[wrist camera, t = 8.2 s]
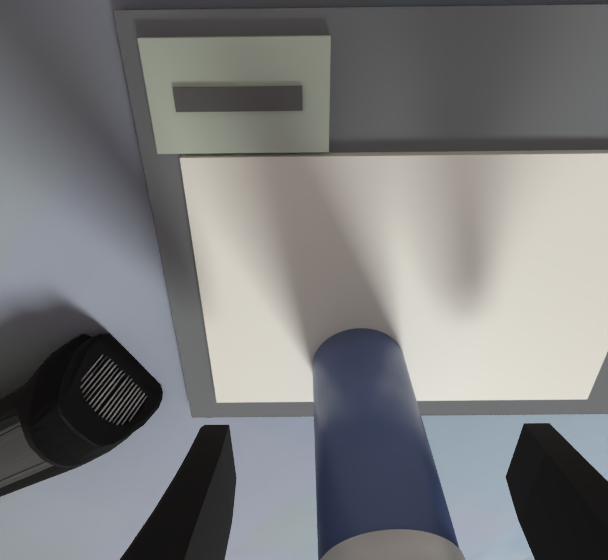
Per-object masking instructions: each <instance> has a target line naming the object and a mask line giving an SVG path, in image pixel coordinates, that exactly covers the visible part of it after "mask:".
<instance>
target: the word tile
mask: <svg viewBox="0 0 608 560" xmlns="http://www.w3.org/2000/svg"><path fill="white" fill-rule="evenodd" d="M137 40H138V45H139V51H140V57H141V63H142V68H143V74H144V80H145V85H146V91H147V97H148V102H149V108H150V114H151V120H152V125H153V131H154V137H155V142H156V148H157V154H208V153H300V152H329V110H330V53H331V36H330V35H296V36H212V37H141V38H137Z"/></svg>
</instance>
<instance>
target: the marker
mask: <svg viewBox="0 0 608 560" xmlns="http://www.w3.org/2000/svg"><path fill="white" fill-rule="evenodd" d="M312 367H313V399H314V432H315V464H316V497H317V529H318V560H465V557H464V555H463V553H462V551H461V550H460V549H459V546H458V542H457V539H456V536H455V532H454V529H453V525H452V522H451V518H450V515H449V511H448V508H447V504H446V501H445V497H444V494H443V490H442V487H441V484H440V480H439V477H438V473H437V470H436V466H435V463H434V459H433V456H432V452H431V449H430V445H429V442H428V439H427V435H426V432H425V428H424V425H423V421H422V418H421V414H420V411H419V407H418V404H417V400H416V397H415V394H414V390H413V387H412V383H411V380H410V376H409V373H408V369H407V366H406V362H405V359H404V355H403V352H402V350H401V348H400V346H399V345H398V343H397V342H396V341H395V340H394V339H393V338H391V337H390V336H388V335H387V334H385V333H383V332H380V331H377V330H374V329H368V328H355V329H349V330H345V331H342V332H339V333H336V334H335V335H333V336H331V337H329V338H328V339H327V340H325V341H324V342H323V343H322V344H321V345H320V346H319V348H318V349H317V351H316V353H315V355H314V358H313V364H312Z"/></svg>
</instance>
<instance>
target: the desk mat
mask: <svg viewBox="0 0 608 560" xmlns="http://www.w3.org/2000/svg"><path fill="white" fill-rule="evenodd" d="M113 14H114V19H115V24H116V29H117V35H118V40H119V45H120V50H121V55H122V60H123V65H124V71H125V76H126V81H127V86H128V91H129V96H130V102H131V107H132V112H133V117H134V122H135V127H136V132H137V138H138V143H139V148H140V153H141V158H142V163H143V168H144V174H145V179H146V184H147V189H148V194H149V199H150V204H151V210H152V215H153V220H154V225H155V230H156V235H157V241H158V246H159V251H160V256H161V261H162V266H163V271H164V277H165V282H166V287H167V292H168V297H169V302H170V307H171V313H172V318H173V323H174V328H175V333H176V338H177V343H178V349H179V354H180V359H181V364H182V369H183V374H184V380H185V385H186V390H187V395H188V400H189V405H190V410H191V416H192V417H302V416H314V402H241V403H217V402H216V396H215V389H214V383H213V376H212V369H211V363H210V356H209V349H208V343H207V336H206V330H205V323H204V316H203V310H202V303H201V297H200V290H199V283H198V277H197V270H196V263H195V257H194V250H193V244H192V237H191V230H190V224H189V217H188V211H187V204H186V197H185V191H184V184H183V177H182V171H181V164H180V157H181V156H182V154H157V148H156V142H155V137H154V131H153V125H152V120H151V114H150V108H149V102H148V97H147V91H146V85H145V80H144V74H143V68H142V63H141V57H140V51H139V45H138V40H137V38H141V37H212V36H296V35H330V36H331V53H330V110H329V152H300V153H358V152H450V151H542V150H608V4H573V5H491V6H409V7H326V8H244V9H162V10H113ZM208 154H267V153H208ZM417 404H418V407H419V411H420V414H421V415H534V414H608V352H607V354H606V357H605V359H604V361H603V364H602V366H601V368H600V371H599V373H598V376H597V378H596V380H595V383H594V385H593V387H592V390H591V392H590V394H589V397H588V399H584V400H470V401H417Z"/></svg>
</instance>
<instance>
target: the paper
mask: <svg viewBox="0 0 608 560" xmlns="http://www.w3.org/2000/svg"><path fill="white" fill-rule="evenodd" d="M180 164H181V171H182V177H183V184H184V191H185V197H186V204H187V211H188V217H189V224H190V230H191V237H192V244H193V250H194V257H195V263H196V270H197V277H198V283H199V290H200V297H201V303H202V310H203V316H204V323H205V330H206V336H207V343H208V349H209V356H210V363H211V369H212V376H213V383H214V389H215V396H216V402H217V403H241V402H314V399H313V367H312V364H313V358H314V355H315V353H316V351H317V349H318V348H319V346H320V345H321V344H322V343H323V342H324V341H325V340H327V339H328V338H329V337H331V336H333V335H335V334H336V333H339V332H342V331H345V330H349V329H355V328H368V329H374V330H377V331H380V332H383V333H385V334H387V335H388V336H390V337H391V338H393V339H394V340H395V341H396V342H397V343H398V345H399V346H400V348H401V350H402V352H403V355H404V359H405V362H406V366H407V369H408V373H409V376H410V380H411V383H412V387H413V390H414V394H415V397H416V400H417V401H470V400H584V399H588V397H589V394H590V392H591V390H592V387H593V385H594V383H595V380H596V378H597V376H598V373H599V371H600V368H601V366H602V364H603V361H604V359H605V357H606V354H607V352H608V150H542V151H450V152H358V153H267V154H182V156H181V157H180Z"/></svg>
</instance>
